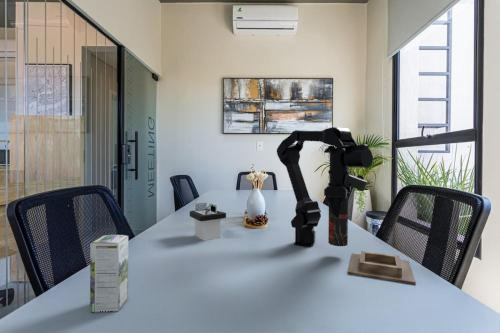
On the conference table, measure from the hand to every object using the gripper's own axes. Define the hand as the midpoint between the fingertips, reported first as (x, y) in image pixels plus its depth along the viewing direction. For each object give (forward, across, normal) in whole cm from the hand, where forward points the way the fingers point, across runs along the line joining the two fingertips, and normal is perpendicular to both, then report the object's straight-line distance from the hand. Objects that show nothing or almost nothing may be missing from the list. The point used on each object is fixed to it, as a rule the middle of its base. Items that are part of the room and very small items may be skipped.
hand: (338, 215), depth 91 cm
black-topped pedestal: (+14, +2, +50) cm, 52 cm away
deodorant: (+9, 0, 0) cm, 9 cm away
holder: (+13, -6, -12) cm, 19 cm away
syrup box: (+13, -52, +41) cm, 67 cm away
